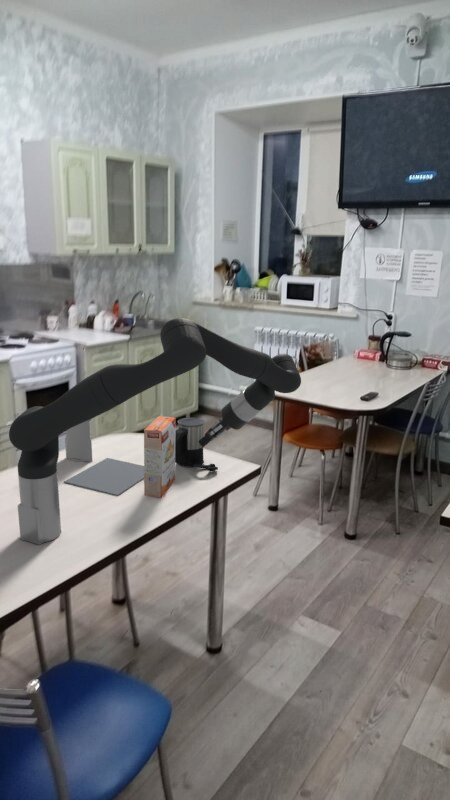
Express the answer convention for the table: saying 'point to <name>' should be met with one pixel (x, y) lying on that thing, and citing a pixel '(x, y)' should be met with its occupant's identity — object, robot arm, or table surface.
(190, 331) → the robot arm
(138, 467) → the mat
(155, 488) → the cracker box
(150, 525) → the table surface
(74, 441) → the tall pale column
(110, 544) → the table surface
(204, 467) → the milk frother
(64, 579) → the table surface
